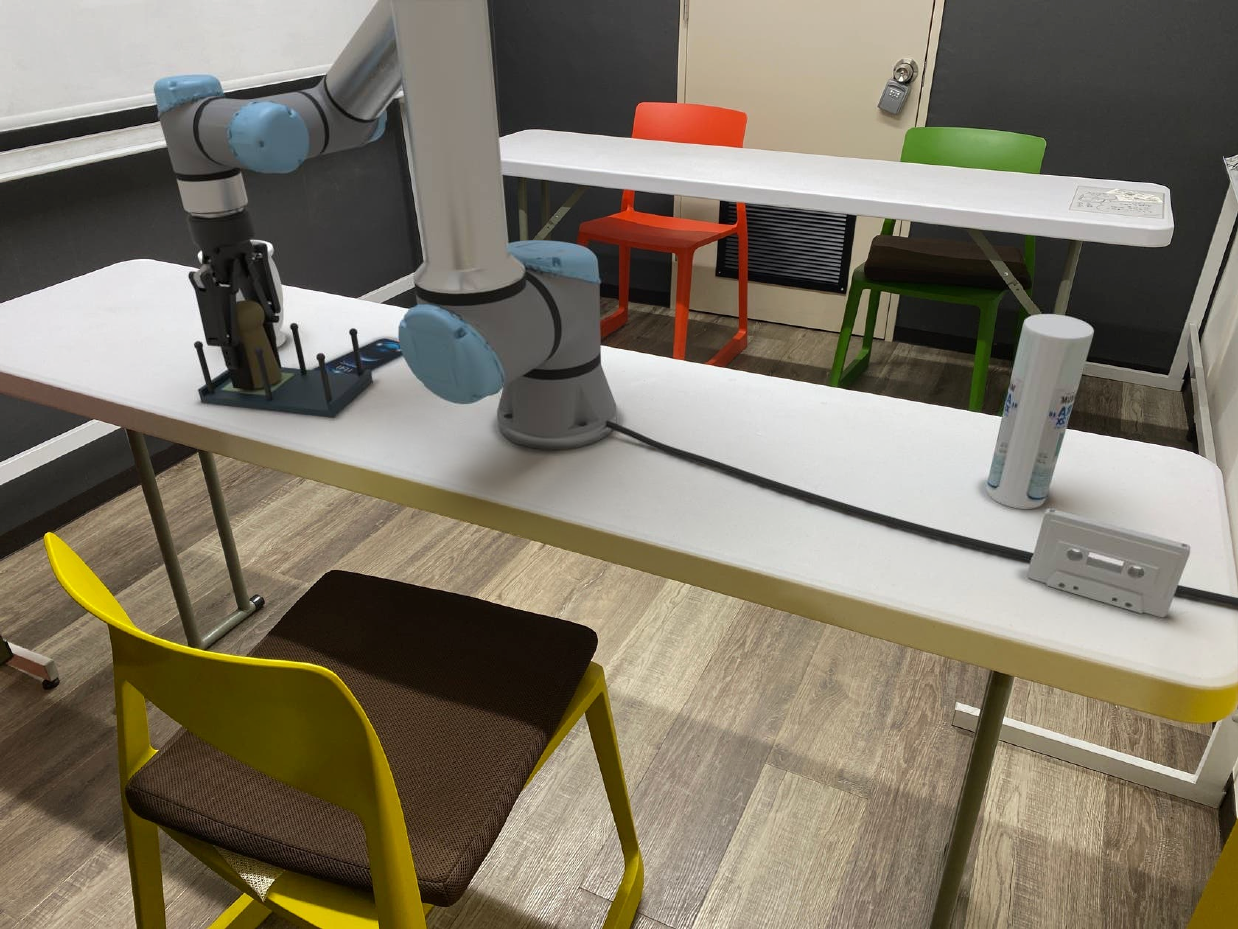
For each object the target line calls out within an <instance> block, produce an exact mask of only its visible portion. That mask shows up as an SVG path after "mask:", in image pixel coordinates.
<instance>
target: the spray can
mask: <svg viewBox="0 0 1238 929" xmlns="http://www.w3.org/2000/svg"><path fill="white" fill-rule="evenodd" d="M1094 333H1095V330H1094V328H1093V327H1092V325H1090V324H1089V323H1087V322H1086V321H1083V320H1082V319H1080V318H1079V319H1078V318H1076V317H1073V316H1068V315H1062V314H1055V313H1039V314H1033V315H1030V316H1028V317H1026V318H1025V319H1024V321H1023V323H1022V328H1021V332H1020V337H1019V341H1018V344H1017V350H1016V354H1015V358H1014V362H1013V367H1012V372H1011V376H1010V381H1009V385H1008V389H1007V394H1006V398H1005V403H1004V407H1003V411H1002V416H1001V419H1000V420H1001V421H1000V425H999V429H998V434H997V438H996V443H995V446H994V451H993V455H992V461H991V464H990V468H989V473H988V477H987V482H986V492H987V495H988V496H989V497H990V498H991V499H992V500H994V501H995V502H997V503H999V504H1001V505H1003V506H1006V507H1010V508H1015V509H1019V510H1021V509H1022V510H1030V509H1032V510H1033V509H1035V508H1039V507H1041V506H1042V505H1043V504H1044V503H1045V501H1046V500H1047V497H1048V495H1049V490H1050V487H1051V483H1052V481H1053V480H1052V479H1053V476H1054V473H1055V469H1056V465H1057V462H1058V459H1059V456H1060V452H1061V448H1062V446H1063V442H1064V438H1065V435H1066V432H1067V428H1068V424H1069V420H1070V417H1071V413H1072V410H1073V407H1074V403H1075V400H1076V397H1077V393H1078V390H1079V386H1080V382H1081V380H1082V376H1083V375H1082V374H1083V372H1084V368H1085V365H1086V362H1087V358H1088V355H1089V351H1090V348H1091V345H1092V341H1093V338H1094Z"/></svg>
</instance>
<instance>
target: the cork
mask: <svg viewBox="0 0 1238 929" xmlns="http://www.w3.org/2000/svg"><path fill="white" fill-rule="evenodd" d="M236 305H237V328H238V343H243V344H244V348H245V352H246V356H247V360H248V364H249V368H250V373H251V377H252V381H253V385H254V388H261V387H264V386H263V382H262V377H261V373H260V369H259V365H258V361H257V356H256V354H255V353H254V349H255V348H256V347H261V348H262V349H263V358H264V362H265V366H266V370H267V375H268V379H269V383H270V385H271V384H274V383H276V382H277V381H279V380H280V379H281V377H282V374H281V371H280V369H279V366H278V364H277V361H276V358H275V356H274V353H273V351H272V348H271V346H270V343H269V341H268V338H267V335H266V333H265V330H264V328H263V322H264V311H263V309H262V307H261V306H260V305H259V304H258V303H257V302H254V301H249V300H243V301H237V302H236Z"/></svg>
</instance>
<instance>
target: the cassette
mask: <svg viewBox="0 0 1238 929" xmlns="http://www.w3.org/2000/svg"><path fill="white" fill-rule="evenodd" d="M1033 553H1034V554H1033V557H1032V559H1031V561H1030V562H1029V566H1028V570H1027V576H1028V579H1031V580H1034V581H1037V582H1040V583H1044V584H1046V586H1047V587H1050V588H1053V589H1057V590H1061V591H1064V592H1068V593H1072V594H1074V595H1078V596H1082V597H1084V598H1088V599H1091V600H1095V601H1098V602H1102V603H1105V604H1109V605H1112V606H1116V607H1118V608H1121V609H1125V610H1130V611H1132V612H1136V613H1139V614H1143V613H1145V614H1149V615H1151V616H1156V617H1159V618H1165V617H1166V616H1167V615H1168V613H1169V610H1170V608H1171V605H1172V602H1173V600H1174V596H1175V594H1176V593H1175V591H1176V588H1177V586H1178V585H1179V583H1180V581H1181V578H1182V575H1183V573H1184V570H1185V568H1186V565H1187V563H1188V560H1189V558H1190V554H1191V546H1190V545H1189V544H1188V543H1183V542H1181V541H1177V540H1172V539H1169V538H1165V537H1161V536H1157V535H1153V534H1150V533H1147V532H1146V533H1145V532H1142V531H1138V530H1134V529H1130V528H1126V527H1124V526H1123V527H1122V526H1118V525H1114V524H1111V523H1107V522H1105V521H1103V522H1102V521H1099V520H1096V519H1091V518H1088V517H1084V516H1080V515H1076V514H1072V513H1069V512H1065V511H1060V510H1057V509H1053V508H1047V509H1046V510H1045V512H1044V515H1043V518H1042V522H1041V526H1040V529H1039V533H1038V536H1037V540H1036V544H1035V547H1034V550H1033ZM1091 553H1092V554H1094V555H1098V556H1102V557H1106V558H1110V559H1113V560H1117V561H1120V562H1123V564H1122V565H1120V564H1118V563H1114V562H1110V561H1106V560H1103V559H1100V558H1096V557H1091V556H1089V555H1090V554H1091Z"/></svg>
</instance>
